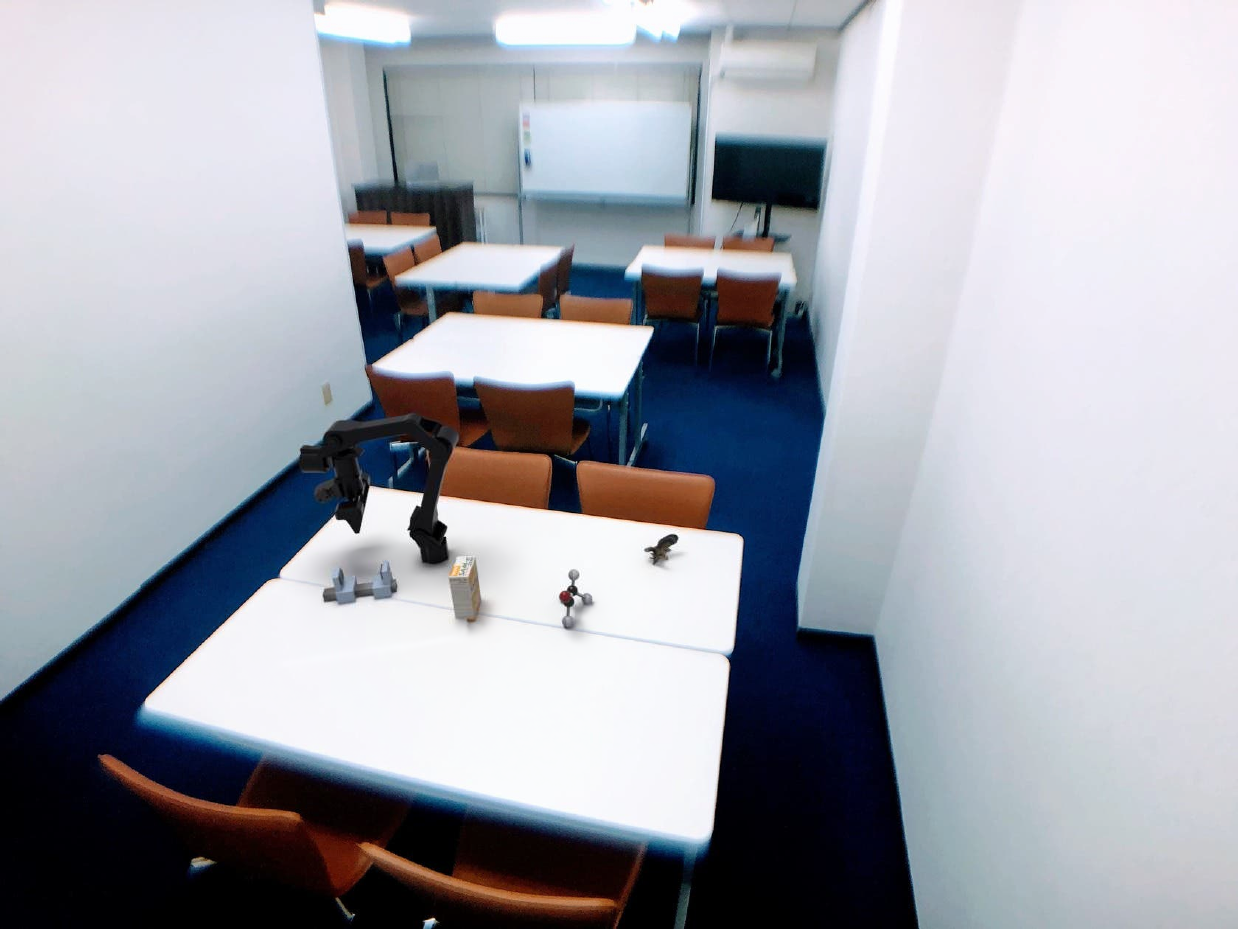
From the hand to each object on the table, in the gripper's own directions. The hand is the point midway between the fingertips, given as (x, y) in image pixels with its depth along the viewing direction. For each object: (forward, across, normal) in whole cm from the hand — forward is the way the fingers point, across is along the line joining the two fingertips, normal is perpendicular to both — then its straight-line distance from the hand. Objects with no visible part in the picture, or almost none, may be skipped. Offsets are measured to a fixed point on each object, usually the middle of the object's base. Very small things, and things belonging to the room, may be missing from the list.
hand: (359, 523), depth 178 cm
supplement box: (+12, +26, +26) cm, 39 cm away
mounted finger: (+11, +15, +6) cm, 19 cm away
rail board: (+12, +14, 0) cm, 19 cm away
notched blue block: (+11, +15, -3) cm, 19 cm away
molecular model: (+12, +33, +50) cm, 61 cm away
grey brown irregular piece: (+12, +16, +77) cm, 79 cm away
